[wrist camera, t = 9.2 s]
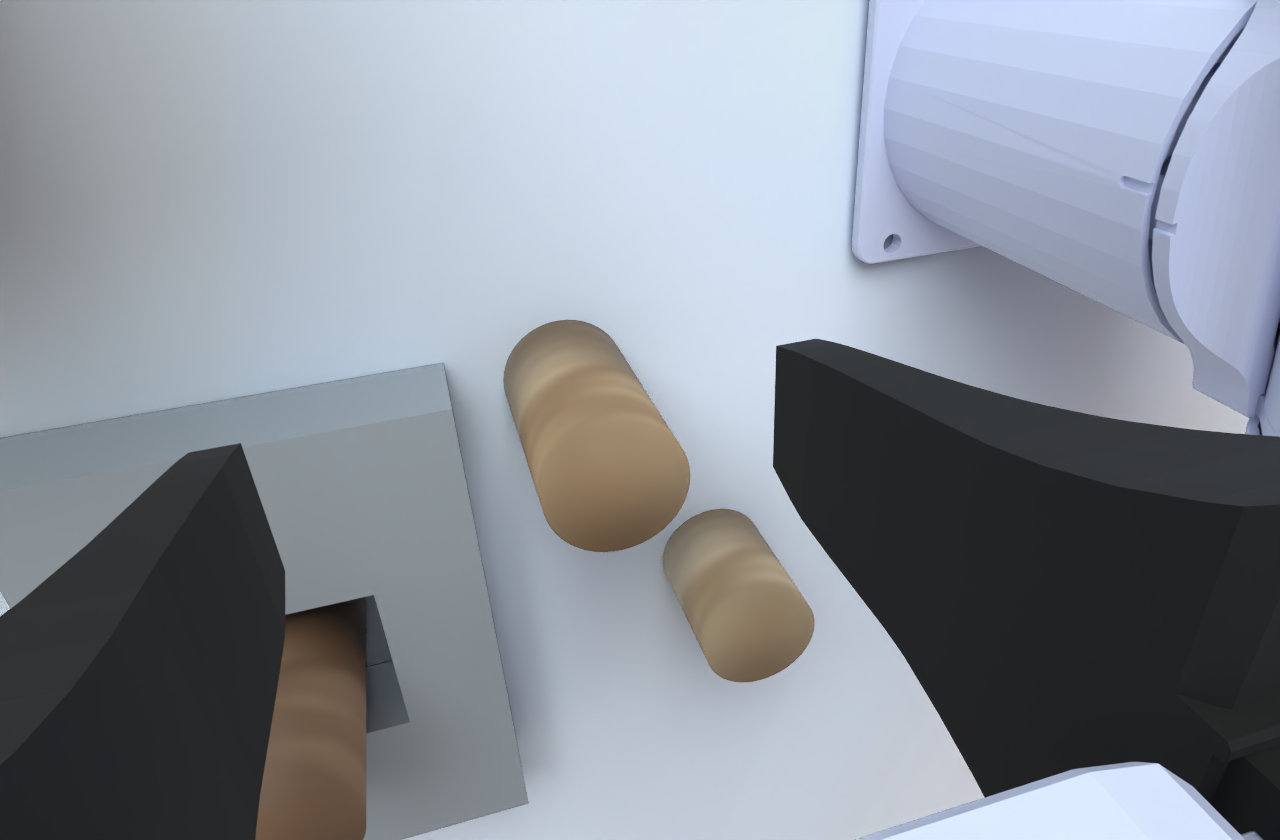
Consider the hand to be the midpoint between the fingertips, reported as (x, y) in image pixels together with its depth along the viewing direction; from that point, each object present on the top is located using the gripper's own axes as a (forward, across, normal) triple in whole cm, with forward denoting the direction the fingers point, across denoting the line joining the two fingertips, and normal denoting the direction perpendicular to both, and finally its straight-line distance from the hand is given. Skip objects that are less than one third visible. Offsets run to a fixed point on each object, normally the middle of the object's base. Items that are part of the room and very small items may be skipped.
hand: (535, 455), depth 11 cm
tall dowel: (+10, +6, +10) cm, 15 cm away
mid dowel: (+10, -2, +4) cm, 11 cm away
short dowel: (+10, -6, +11) cm, 16 cm away
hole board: (+10, +6, +10) cm, 15 cm away
